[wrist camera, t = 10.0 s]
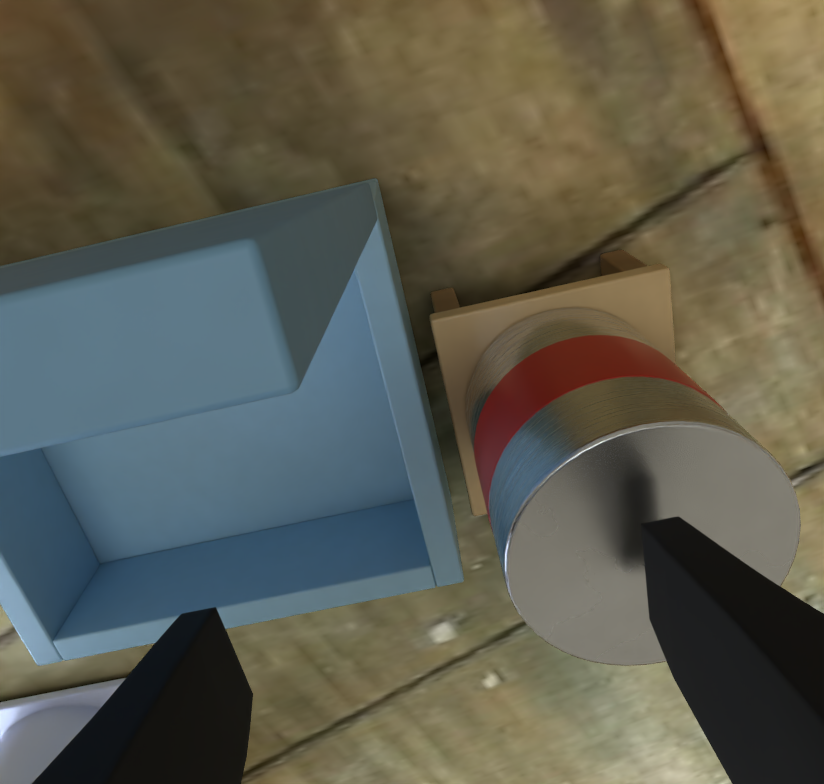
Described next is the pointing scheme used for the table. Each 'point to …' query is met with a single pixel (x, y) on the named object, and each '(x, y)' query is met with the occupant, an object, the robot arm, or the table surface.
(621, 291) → the stool
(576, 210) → the table surface
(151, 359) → the lid
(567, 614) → the can
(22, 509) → the cooler
